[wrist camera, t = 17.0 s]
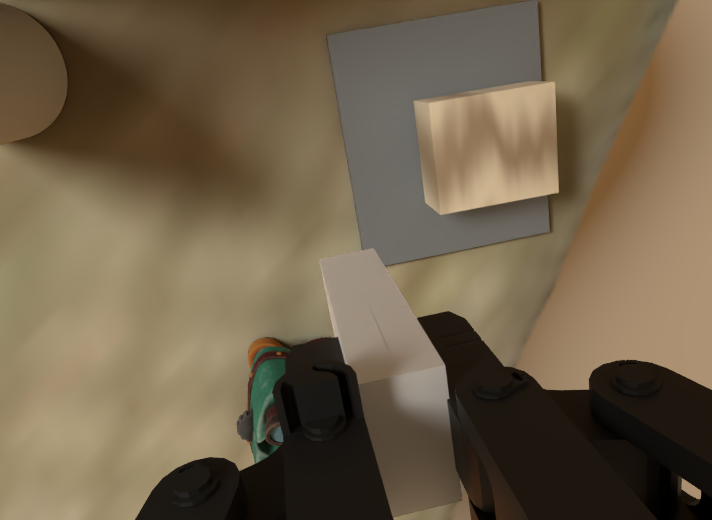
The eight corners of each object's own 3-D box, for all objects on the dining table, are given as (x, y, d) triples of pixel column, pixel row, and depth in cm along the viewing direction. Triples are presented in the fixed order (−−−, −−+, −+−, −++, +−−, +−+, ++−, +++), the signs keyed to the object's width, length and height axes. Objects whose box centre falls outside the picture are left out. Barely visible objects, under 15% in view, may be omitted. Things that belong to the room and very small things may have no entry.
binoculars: (396, 515, 36) (239, 534, 34) (356, 421, 46) (232, 431, 44) (411, 393, 34) (242, 405, 31) (365, 321, 43) (233, 325, 41)
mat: (326, 35, 36) (327, 34, 35) (533, 0, 37) (537, -1, 37) (365, 266, 41) (366, 269, 41) (546, 229, 42) (549, 231, 42)
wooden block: (428, 102, 34) (554, 81, 34) (412, 100, 37) (526, 81, 38) (440, 215, 36) (558, 192, 37) (424, 202, 40) (531, 182, 40)
